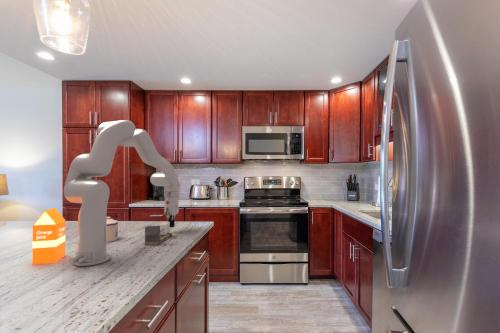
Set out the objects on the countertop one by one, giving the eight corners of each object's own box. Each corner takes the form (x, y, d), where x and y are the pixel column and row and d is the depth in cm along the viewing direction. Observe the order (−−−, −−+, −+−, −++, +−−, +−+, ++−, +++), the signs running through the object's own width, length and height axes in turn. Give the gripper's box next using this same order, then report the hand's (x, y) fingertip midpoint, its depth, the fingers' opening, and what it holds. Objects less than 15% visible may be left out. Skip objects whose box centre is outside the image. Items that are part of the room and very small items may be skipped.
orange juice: (31, 264, 98) (32, 211, 98) (43, 256, 106) (44, 207, 106) (56, 262, 100) (56, 210, 100) (65, 255, 108) (66, 207, 109)
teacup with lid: (120, 240, 131) (120, 217, 131) (99, 243, 125) (99, 219, 125) (114, 235, 140) (114, 214, 140) (94, 238, 134) (95, 216, 134)
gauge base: (157, 245, 122) (157, 227, 122) (144, 245, 122) (145, 227, 122) (172, 235, 140) (172, 219, 140) (161, 235, 140) (161, 219, 140)
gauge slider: (166, 236, 132) (166, 224, 132) (155, 235, 132) (155, 223, 132) (170, 233, 138) (170, 221, 138) (160, 232, 138) (160, 221, 138)
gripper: (172, 195, 138) (172, 230, 138) (182, 193, 153) (182, 224, 153) (158, 195, 139) (158, 230, 139) (170, 193, 154) (170, 224, 154)
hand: (171, 227), depth 146 cm, fingers closed
